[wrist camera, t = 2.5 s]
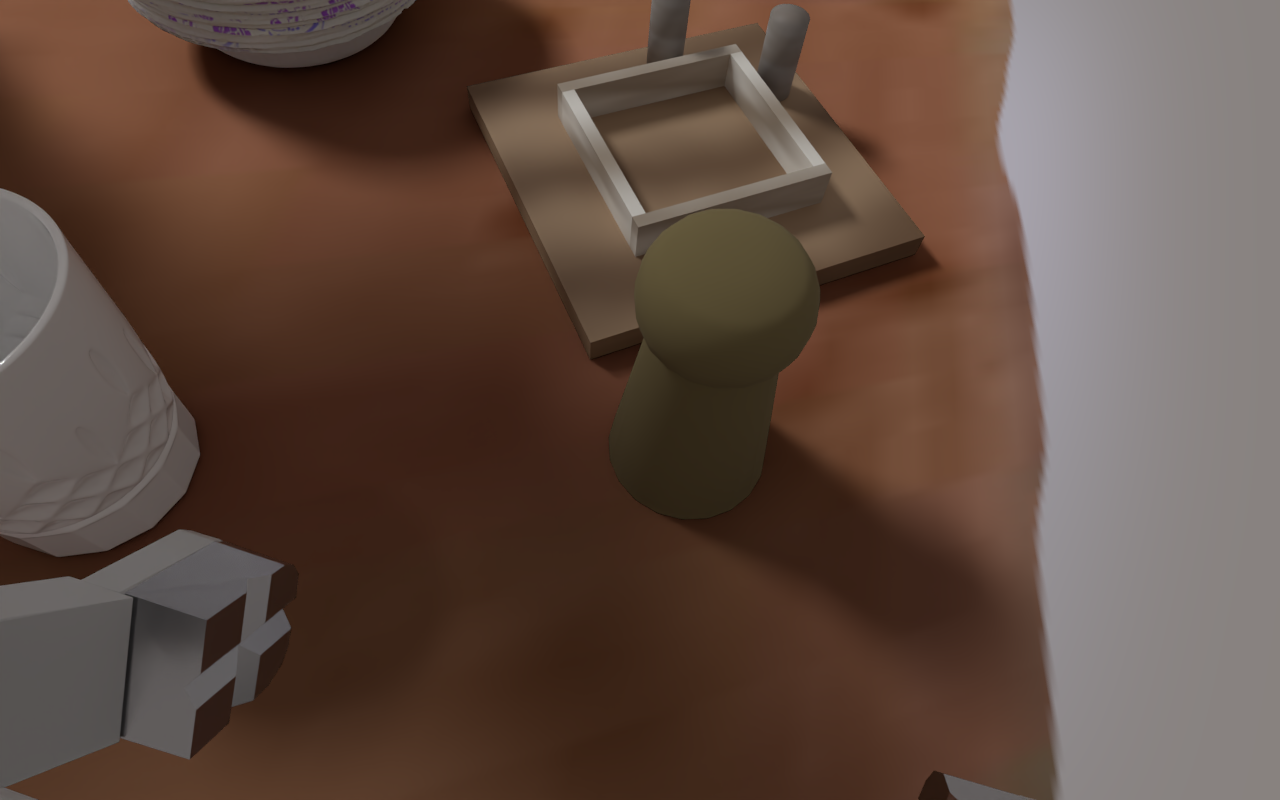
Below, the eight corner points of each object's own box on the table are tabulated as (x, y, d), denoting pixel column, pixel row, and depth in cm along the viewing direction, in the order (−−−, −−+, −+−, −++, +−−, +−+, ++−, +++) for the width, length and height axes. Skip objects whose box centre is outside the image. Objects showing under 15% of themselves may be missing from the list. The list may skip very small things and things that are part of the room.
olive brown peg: (599, 510, 28) (610, 338, 19) (616, 371, 32) (633, 163, 22) (764, 527, 29) (857, 365, 19) (764, 387, 32) (845, 187, 22)
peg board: (469, 106, 39) (455, 8, 34) (752, 43, 43) (773, -52, 38) (589, 359, 32) (592, 277, 27) (914, 254, 36) (962, 168, 31)
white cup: (108, 342, 31) (-76, 141, 22) (265, 434, 29) (135, 257, 20) (-76, 504, 27) (-384, 338, 18) (94, 619, 25) (-154, 497, 17)
